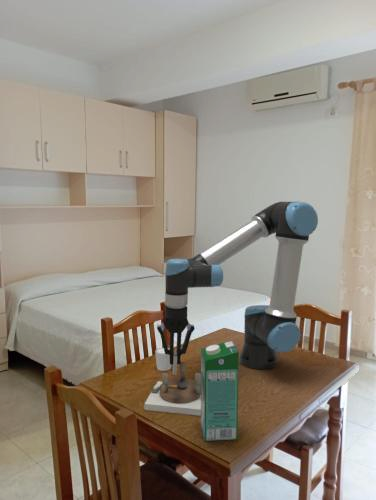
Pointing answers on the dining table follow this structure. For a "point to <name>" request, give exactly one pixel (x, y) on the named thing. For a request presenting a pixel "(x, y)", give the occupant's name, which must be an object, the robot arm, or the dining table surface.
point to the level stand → (171, 404)
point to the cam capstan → (180, 387)
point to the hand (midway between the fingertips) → (174, 373)
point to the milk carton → (219, 391)
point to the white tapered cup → (162, 360)
